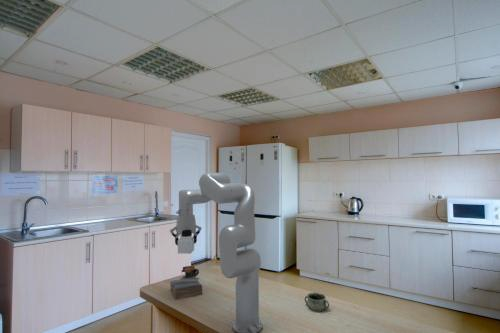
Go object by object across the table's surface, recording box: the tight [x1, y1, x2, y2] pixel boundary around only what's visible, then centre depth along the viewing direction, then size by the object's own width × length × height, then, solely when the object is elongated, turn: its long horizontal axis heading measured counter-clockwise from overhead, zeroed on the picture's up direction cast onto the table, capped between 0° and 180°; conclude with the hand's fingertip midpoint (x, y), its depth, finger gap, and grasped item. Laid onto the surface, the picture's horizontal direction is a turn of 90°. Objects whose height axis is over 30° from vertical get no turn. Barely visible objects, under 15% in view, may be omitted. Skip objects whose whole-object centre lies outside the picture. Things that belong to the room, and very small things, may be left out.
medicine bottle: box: [177, 230, 195, 255], centre depth 153 cm, size 7×7×12 cm
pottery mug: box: [181, 265, 200, 279], centre depth 175 cm, size 12×9×8 cm
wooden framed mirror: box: [170, 277, 203, 300], centre depth 154 cm, size 14×14×5 cm
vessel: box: [304, 292, 330, 313], centre depth 133 cm, size 12×9×6 cm
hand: (186, 244), depth 155 cm, fingers closed on medicine bottle, 9 cm apart
